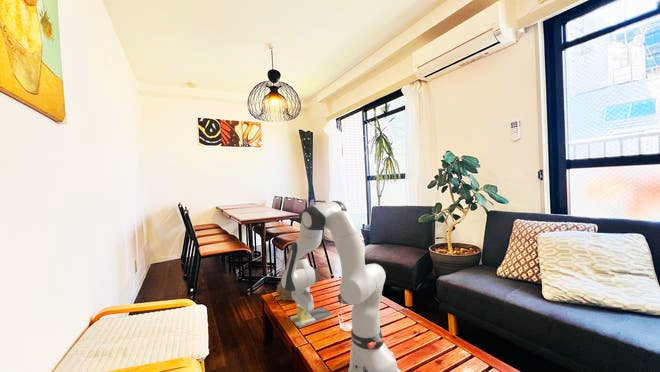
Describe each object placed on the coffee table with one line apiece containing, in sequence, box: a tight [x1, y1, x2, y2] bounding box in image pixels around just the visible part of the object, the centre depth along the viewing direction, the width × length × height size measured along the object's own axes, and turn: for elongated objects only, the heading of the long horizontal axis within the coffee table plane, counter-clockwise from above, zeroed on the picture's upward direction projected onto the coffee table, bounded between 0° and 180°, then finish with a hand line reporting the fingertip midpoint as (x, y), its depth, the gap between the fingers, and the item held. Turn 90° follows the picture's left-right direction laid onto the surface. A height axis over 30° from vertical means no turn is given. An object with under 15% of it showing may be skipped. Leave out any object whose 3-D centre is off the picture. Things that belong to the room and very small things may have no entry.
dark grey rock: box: [337, 293, 349, 305], centre depth 173 cm, size 19×4×15 cm
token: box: [296, 305, 309, 322], centre depth 147 cm, size 5×5×6 cm
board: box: [289, 306, 334, 329], centre depth 149 cm, size 12×21×1 cm, turn 122°
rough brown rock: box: [275, 280, 296, 303], centre depth 175 cm, size 23×17×15 cm
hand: (302, 312), depth 147 cm, fingers open, 8 cm apart
